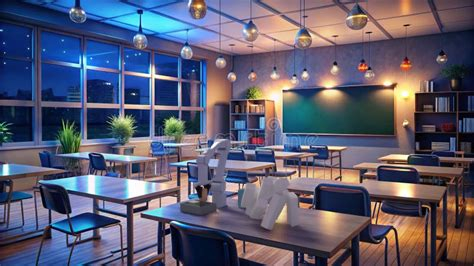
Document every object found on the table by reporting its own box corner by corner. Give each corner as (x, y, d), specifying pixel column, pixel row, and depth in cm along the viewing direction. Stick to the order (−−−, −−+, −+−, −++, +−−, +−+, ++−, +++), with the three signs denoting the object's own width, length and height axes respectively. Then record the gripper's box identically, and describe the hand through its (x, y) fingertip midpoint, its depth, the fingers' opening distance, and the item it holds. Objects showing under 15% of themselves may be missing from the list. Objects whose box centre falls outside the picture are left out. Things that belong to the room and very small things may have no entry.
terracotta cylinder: (203, 199, 228) (203, 187, 228) (208, 200, 225) (209, 188, 224) (197, 200, 224) (197, 188, 224) (203, 201, 221) (203, 190, 221)
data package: (256, 209, 233) (256, 190, 233) (252, 210, 230) (252, 191, 229) (242, 206, 241) (242, 187, 240) (237, 207, 237) (237, 188, 237)
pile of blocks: (225, 232, 203) (226, 180, 185) (251, 201, 225) (255, 153, 208) (283, 259, 188) (291, 207, 170) (305, 224, 210) (314, 174, 193)
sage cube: (194, 208, 233) (194, 200, 233) (199, 209, 230) (199, 201, 230) (188, 209, 229) (188, 201, 229) (194, 211, 226) (193, 202, 226)
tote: (196, 207, 238) (196, 199, 238) (216, 211, 227) (216, 203, 227) (180, 211, 227) (180, 203, 227) (200, 215, 216) (200, 207, 216)
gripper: (199, 176, 216) (199, 200, 216) (215, 173, 227) (216, 196, 228) (190, 175, 220) (190, 198, 221) (207, 172, 232) (207, 194, 232)
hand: (203, 197), depth 224 cm, fingers closed on terracotta cylinder, 5 cm apart
